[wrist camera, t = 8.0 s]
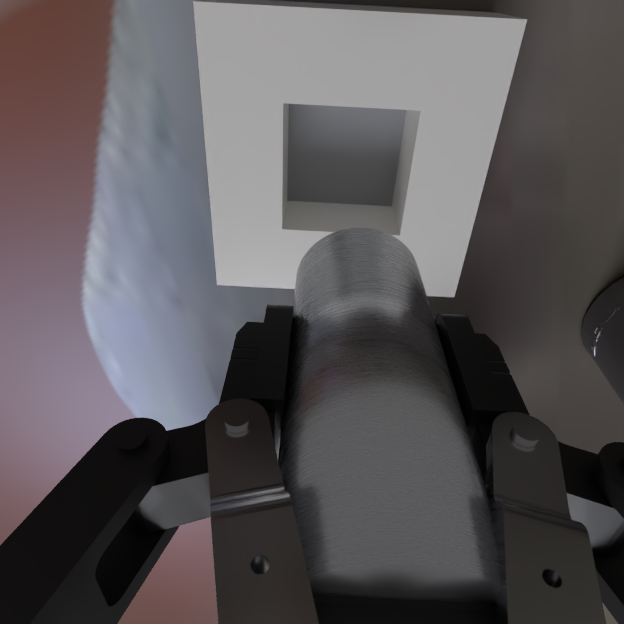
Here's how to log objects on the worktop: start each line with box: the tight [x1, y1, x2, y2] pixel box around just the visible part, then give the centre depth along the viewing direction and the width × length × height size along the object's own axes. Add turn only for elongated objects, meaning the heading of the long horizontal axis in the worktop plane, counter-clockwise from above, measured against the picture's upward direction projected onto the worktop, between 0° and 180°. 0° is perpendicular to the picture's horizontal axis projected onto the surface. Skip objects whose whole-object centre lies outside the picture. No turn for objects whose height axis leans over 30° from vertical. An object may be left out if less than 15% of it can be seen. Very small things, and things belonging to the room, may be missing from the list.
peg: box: [278, 228, 501, 603], centre depth 11 cm, size 4×4×10 cm
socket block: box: [193, 0, 527, 297], centre depth 26 cm, size 14×14×5 cm
